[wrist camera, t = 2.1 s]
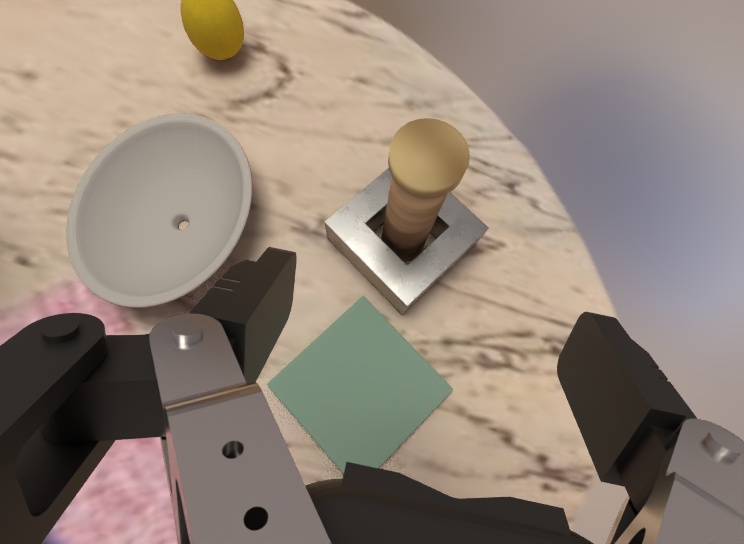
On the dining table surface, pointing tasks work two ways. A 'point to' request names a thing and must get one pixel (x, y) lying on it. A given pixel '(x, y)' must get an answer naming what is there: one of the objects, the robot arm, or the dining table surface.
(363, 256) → the grey square socket block
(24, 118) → the dining table surface
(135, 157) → the dish
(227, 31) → the lemon
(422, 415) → the mat
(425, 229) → the peg
